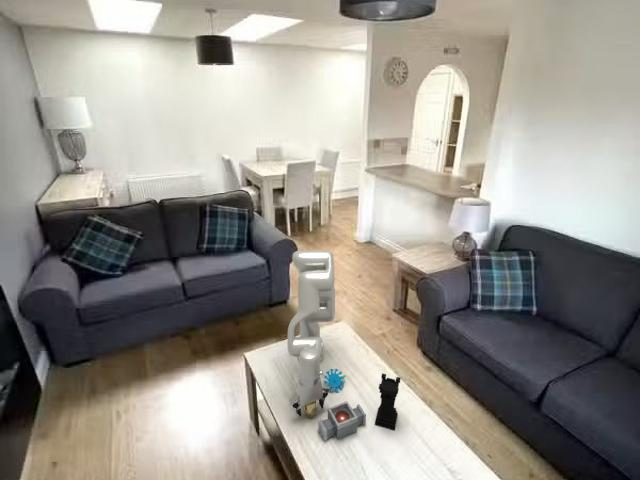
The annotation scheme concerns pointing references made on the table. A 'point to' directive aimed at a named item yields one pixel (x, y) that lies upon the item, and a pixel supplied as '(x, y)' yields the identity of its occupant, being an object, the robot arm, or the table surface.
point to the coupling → (310, 410)
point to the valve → (341, 421)
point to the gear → (334, 380)
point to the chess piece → (387, 403)
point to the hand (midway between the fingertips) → (310, 410)
